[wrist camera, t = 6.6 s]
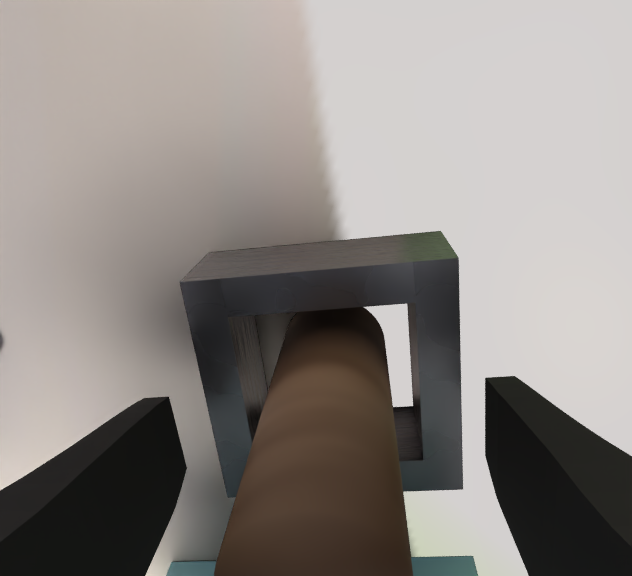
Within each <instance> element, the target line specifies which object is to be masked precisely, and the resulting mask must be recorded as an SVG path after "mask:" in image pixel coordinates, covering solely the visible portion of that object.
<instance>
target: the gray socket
mask: <svg viewBox="0 0 632 576" xmlns="http://www.w3.org/2000/svg"><path fill="white" fill-rule="evenodd" d="M180 286H181V290H182V295H183V299H184V304H185V308H186V313H187V317H188V322H189V326H190V331H191V335H192V340H193V344H194V349H195V353H196V358H197V362H198V367H199V371H200V376H201V380H202V384H203V389H204V393H205V398H206V402H207V407H208V411H209V416H210V420H211V425H212V429H213V434H214V438H215V443H216V447H217V452H218V456H219V461H220V465H221V470H222V474H223V479H224V483H225V488H226V492H227V496H228V498H229V497H236V496H237V492H238V489H239V486H240V482H241V479H242V476H243V473H244V469H245V466H246V463H247V459H248V456H249V453H250V450H251V446H252V443H253V440H254V436H255V433H256V430H257V427H258V423H259V420H260V417H261V413H262V410H263V407H264V404H265V400H266V397H267V394H268V391H267V385H266V379H265V373H264V367H263V362H262V356H261V350H260V344H259V339H258V333H257V327H256V321H255V315H263V314H276V313H289V312H302V311H315V310H328V309H341V308H354V307H366V306H379V305H392V304H405V303H407V304H408V321H409V338H410V355H411V372H412V389H413V390H412V391H413V406H409V407H393V413H394V422H395V430H396V438H397V446H398V454H399V463H400V471H401V479H402V487H403V491H429V490H457V489H463V472H462V471H463V469H462V467H463V466H462V418H461V417H462V415H461V363H460V311H459V260H458V256H457V255H456V253H455V252H454V250H453V249H452V247H451V246H450V244H449V243H448V241H447V240H446V238H445V237H444V235H443V234H442V232H441V231H436V232H425V233H414V234H404V235H393V236H382V237H371V238H361V239H350V240H339V241H328V242H318V243H307V244H296V245H286V246H275V247H264V248H253V249H243V250H232V251H221V252H211V253H208V254H207V255H206V256H205V257H204V258H203V259H202V260H201V261H200V262H199V263H198V264H197V265H196V266H195V267H194V268H193V269H192V270H191V271H190V272H189V273H188V274H187V275H186V276H185V277H184V278H183V279H182V280H181V281H180Z"/></svg>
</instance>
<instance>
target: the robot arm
mask: <svg viewBox="0 0 632 576" xmlns="http://www.w3.org/2000/svg"><path fill="white" fill-rule="evenodd" d="M485 380H486V381H485V392H486V393H485V396H486V397H485V398H486V399H485V413H486V414H485V428H486V429H485V436H486V437H485V453H486V454H485V456H486V460H487V463H488V467H489V470H490V475H491V478H492V482H493V485H494V489H495V493H496V496H497V499H498V502H499V504H500V507H501V509H502V512H503V514H504V517H505V519H506V521H507V524H508V526H509V528H510V531H511V533H512V536H513V538H514V541H515V543H516V546H517V548H518V550H519V553H520V555H521V558H522V560H523V563H524V565H525V567H526V570H527V572H528V575H529V576H632V456H630V455H629V454H627V453H625V452H624V451H622V450H620V449H619V448H617V447H616V446H614V445H612V444H611V443H609V442H608V441H606V440H604V439H603V438H601V437H600V436H598V435H596V434H595V433H594V432H592V431H591V430H589V429H588V428H586V427H585V426H583V425H582V424H580V423H579V422H577V421H576V420H574V419H573V418H571V417H570V416H569V415H567V414H566V413H564V412H563V411H562V410H560V409H559V408H558V407H556V406H555V405H553V404H552V403H551V402H549V401H548V400H546V399H545V398H544V397H542V396H541V395H540V394H538V393H537V392H536V391H535V390H533V389H532V388H530V387H529V386H528V385H526V384H525V383H523V382H522V381H521V380H519V379H518V378H516V377H515V376H510V377H492V378H485ZM186 469H187V467H186V463H185V459H184V455H183V451H182V447H181V443H180V439H179V435H178V431H177V427H176V423H175V419H174V415H173V411H172V407H171V403H170V399H169V397H157V398H144V399H142V400H140V401H138V402H136V403H135V404H133V405H131V406H130V407H128V408H127V409H125V410H124V411H122V412H121V413H119V414H118V415H116V416H115V417H113V418H112V419H110V420H109V421H107V422H106V423H104V424H103V425H102V426H100V427H99V428H97V429H96V430H94V431H93V432H91V433H90V434H88V435H87V436H86V437H84V438H83V439H81V440H80V441H78V442H77V443H75V444H74V445H72V446H71V447H69V448H68V449H66V450H65V451H63V452H62V453H60V454H59V455H57V456H55V457H54V458H52V459H51V460H49V461H48V462H46V463H45V464H43V465H41V466H40V467H38V468H37V469H35V470H34V471H32V472H30V473H29V474H27V475H26V476H24V477H23V478H21V479H19V480H18V481H16V482H14V483H13V484H11V485H9V486H7V487H6V488H4V489H2V490H0V576H145V575H146V572H147V570H148V568H149V566H150V564H151V561H152V559H153V557H154V555H155V553H156V550H157V548H158V546H159V544H160V542H161V539H162V537H163V535H164V532H165V530H166V528H167V526H168V523H169V521H170V519H171V517H172V514H173V512H174V509H175V507H176V503H177V500H178V497H179V494H180V491H181V487H182V484H183V480H184V476H185V473H186Z"/></svg>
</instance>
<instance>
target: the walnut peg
mask: <svg viewBox="0 0 632 576" xmlns="http://www.w3.org/2000/svg"><path fill="white" fill-rule="evenodd" d="M214 576H413V569H412V561H411V553H410V544H409V536H408V528H407V520H406V512H405V503H404V495H403V487H402V479H401V471H400V463H399V454H398V446H397V438H396V430H395V422H394V413H393V406H392V397H391V389H390V381H389V373H388V364H387V356H386V348H385V340H384V335H383V331H382V329H381V327H380V324H379V323H378V321H377V320H376V318H375V317H374V316H373V315H372V314H371V313H370V312H369V311H368V310H367V309H365V308H364V307H354V308H341V309H328V310H315V311H302V312H298V313H297V314H296V315H295V316H294V318H293V319H292V320H291V322H290V324H289V326H288V328H287V331H286V334H285V338H284V341H283V344H282V348H281V351H280V354H279V357H278V361H277V364H276V367H275V371H274V374H273V377H272V380H271V384H270V387H269V390H268V394H267V397H266V400H265V404H264V407H263V410H262V413H261V417H260V420H259V423H258V427H257V430H256V433H255V436H254V440H253V443H252V446H251V450H250V453H249V456H248V459H247V463H246V466H245V469H244V473H243V476H242V479H241V482H240V486H239V489H238V492H237V496H236V499H235V502H234V505H233V509H232V512H231V515H230V519H229V522H228V525H227V528H226V532H225V535H224V538H223V542H222V545H221V548H220V551H219V555H218V558H217V561H216V565H215V571H214Z"/></svg>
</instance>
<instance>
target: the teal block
mask: <svg viewBox="0 0 632 576" xmlns="http://www.w3.org/2000/svg"><path fill="white" fill-rule="evenodd" d="M411 561H412V569H413V576H478V574H477V570H476V566H475V562H474V558H473V556H449V557H447V556H446V557H411ZM215 565H216V561H196V562H172V563H171V565H170V568H169V570H168V573H167V575H166V576H214V571H215Z"/></svg>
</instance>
